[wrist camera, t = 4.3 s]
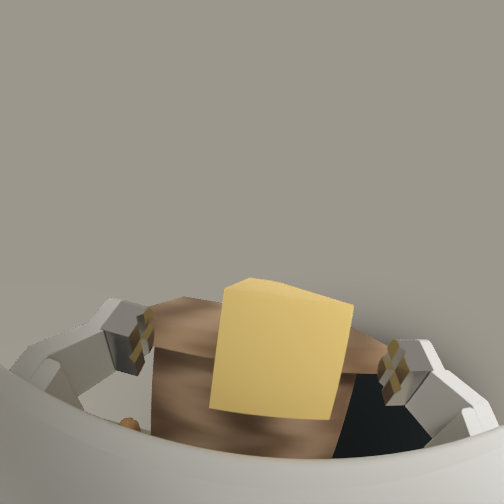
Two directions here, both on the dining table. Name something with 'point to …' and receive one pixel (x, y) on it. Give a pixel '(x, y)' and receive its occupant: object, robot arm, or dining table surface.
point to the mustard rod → (279, 351)
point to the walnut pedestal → (231, 423)
